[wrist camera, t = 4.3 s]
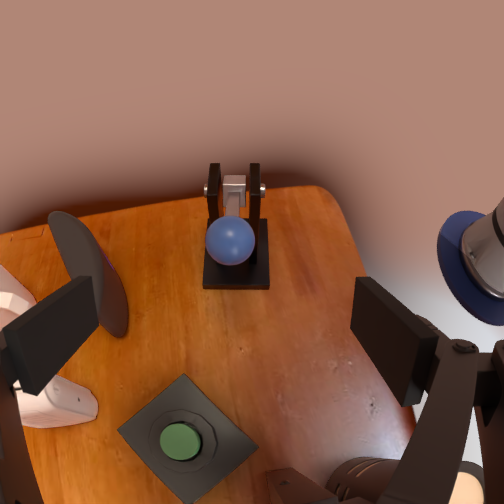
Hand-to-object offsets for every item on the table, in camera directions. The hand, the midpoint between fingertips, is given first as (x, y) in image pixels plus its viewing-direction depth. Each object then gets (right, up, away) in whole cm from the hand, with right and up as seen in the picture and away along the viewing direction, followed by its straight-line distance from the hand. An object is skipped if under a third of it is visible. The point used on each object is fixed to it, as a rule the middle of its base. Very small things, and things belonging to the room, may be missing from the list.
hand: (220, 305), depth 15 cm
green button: (-5, -16, +11) cm, 20 cm away
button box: (-5, -18, +14) cm, 23 cm away
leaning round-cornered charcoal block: (-19, -3, +24) cm, 31 cm away
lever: (0, +4, +14) cm, 14 cm away
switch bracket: (0, +2, +27) cm, 27 cm away
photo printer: (-21, -16, +15) cm, 31 cm away
